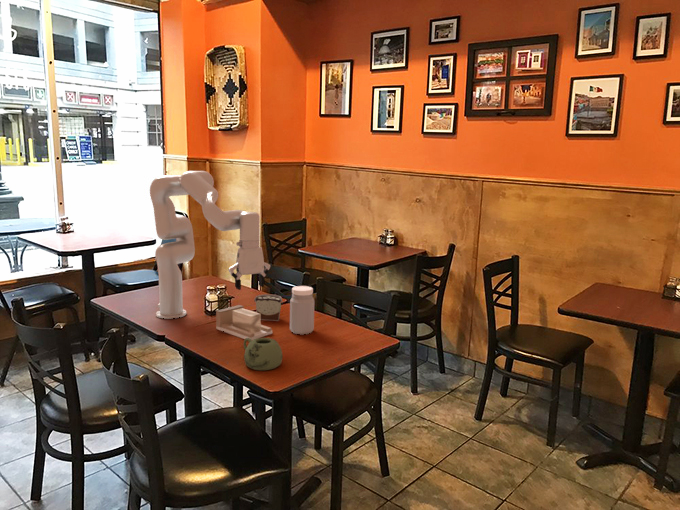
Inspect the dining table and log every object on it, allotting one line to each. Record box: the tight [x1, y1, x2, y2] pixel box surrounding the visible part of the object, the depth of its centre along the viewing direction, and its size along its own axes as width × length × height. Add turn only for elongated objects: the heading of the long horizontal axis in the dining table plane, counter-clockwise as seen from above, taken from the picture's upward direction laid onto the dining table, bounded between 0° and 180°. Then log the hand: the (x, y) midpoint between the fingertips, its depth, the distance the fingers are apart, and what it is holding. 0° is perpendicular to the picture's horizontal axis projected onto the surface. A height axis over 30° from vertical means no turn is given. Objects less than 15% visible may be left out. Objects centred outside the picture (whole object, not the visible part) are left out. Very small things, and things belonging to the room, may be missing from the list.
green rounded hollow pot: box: [242, 337, 283, 371], centre depth 182 cm, size 16×13×9 cm
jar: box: [289, 285, 315, 336], centre depth 215 cm, size 10×10×18 cm
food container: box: [253, 293, 284, 322], centre depth 232 cm, size 12×6×10 cm, turn 84°
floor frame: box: [215, 304, 273, 340], centre depth 215 cm, size 20×12×8 cm, turn 50°
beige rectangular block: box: [233, 307, 262, 333], centre depth 214 cm, size 5×11×7 cm, turn 50°
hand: (249, 287), depth 210 cm, fingers open, 9 cm apart
